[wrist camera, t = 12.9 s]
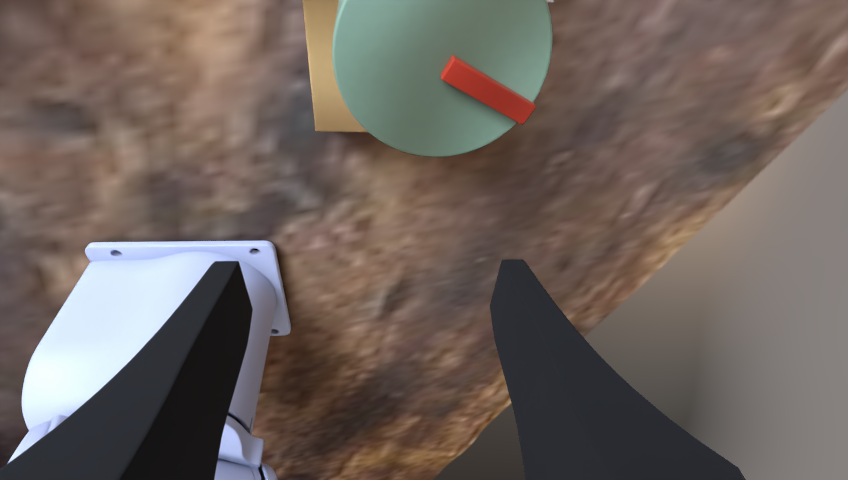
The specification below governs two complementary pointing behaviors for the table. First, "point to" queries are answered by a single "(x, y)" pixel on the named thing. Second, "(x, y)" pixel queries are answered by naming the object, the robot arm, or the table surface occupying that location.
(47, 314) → the table surface
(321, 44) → the tan flat wooden board
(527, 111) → the mint green cylinder
